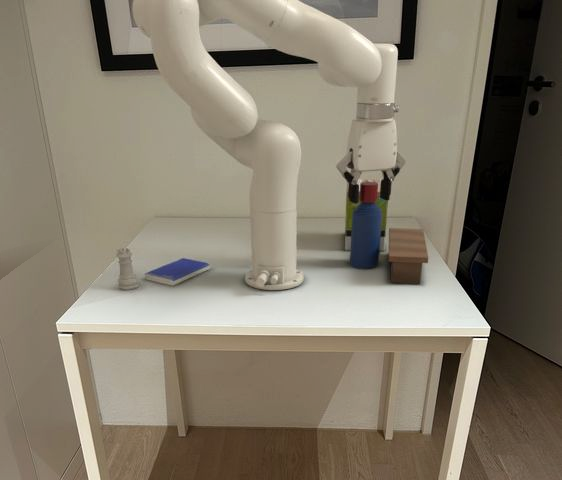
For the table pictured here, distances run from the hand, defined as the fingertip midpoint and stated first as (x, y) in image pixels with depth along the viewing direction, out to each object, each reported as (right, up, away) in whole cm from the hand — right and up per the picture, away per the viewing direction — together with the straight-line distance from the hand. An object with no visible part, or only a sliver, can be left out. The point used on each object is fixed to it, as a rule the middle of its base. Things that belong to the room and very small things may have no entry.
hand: (369, 200), depth 128 cm
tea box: (+2, -5, +22) cm, 23 cm away
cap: (0, 0, 0) cm, 0 cm away
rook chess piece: (-52, -20, -5) cm, 56 cm away
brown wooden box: (+9, -14, +4) cm, 17 cm away
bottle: (0, -13, +7) cm, 15 cm away
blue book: (-42, -16, +2) cm, 45 cm away
